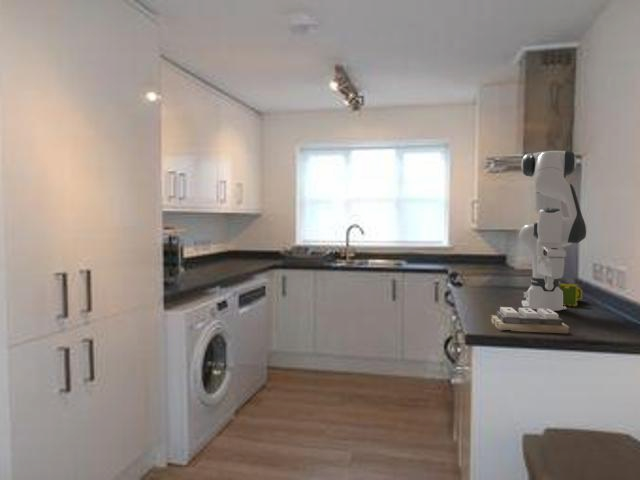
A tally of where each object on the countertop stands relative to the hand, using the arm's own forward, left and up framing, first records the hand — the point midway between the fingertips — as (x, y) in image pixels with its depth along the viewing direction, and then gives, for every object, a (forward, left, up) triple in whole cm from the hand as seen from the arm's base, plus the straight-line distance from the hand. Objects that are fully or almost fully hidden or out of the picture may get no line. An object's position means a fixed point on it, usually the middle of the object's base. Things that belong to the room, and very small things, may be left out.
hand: (548, 287), depth 186 cm
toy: (-67, +26, -16) cm, 74 cm away
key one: (0, -14, -11) cm, 18 cm away
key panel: (0, -7, -15) cm, 17 cm away
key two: (0, -7, -11) cm, 13 cm away
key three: (0, 0, -11) cm, 11 cm away
